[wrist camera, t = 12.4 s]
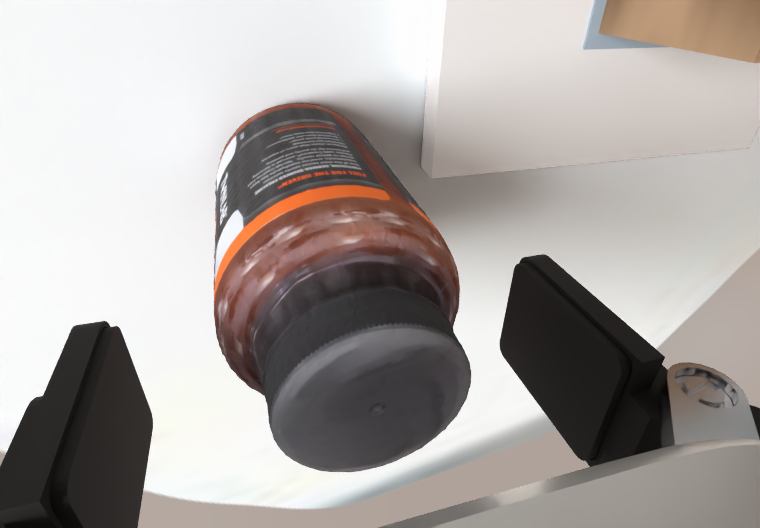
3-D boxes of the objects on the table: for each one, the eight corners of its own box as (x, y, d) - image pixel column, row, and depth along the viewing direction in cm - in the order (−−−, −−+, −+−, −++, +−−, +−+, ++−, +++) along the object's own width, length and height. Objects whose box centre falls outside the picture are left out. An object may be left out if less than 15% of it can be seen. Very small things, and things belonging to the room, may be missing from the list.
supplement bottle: (178, 166, 16) (120, 427, 7) (313, 62, 16) (436, 202, 7) (286, 270, 20) (339, 534, 11) (399, 188, 19) (557, 395, 10)
